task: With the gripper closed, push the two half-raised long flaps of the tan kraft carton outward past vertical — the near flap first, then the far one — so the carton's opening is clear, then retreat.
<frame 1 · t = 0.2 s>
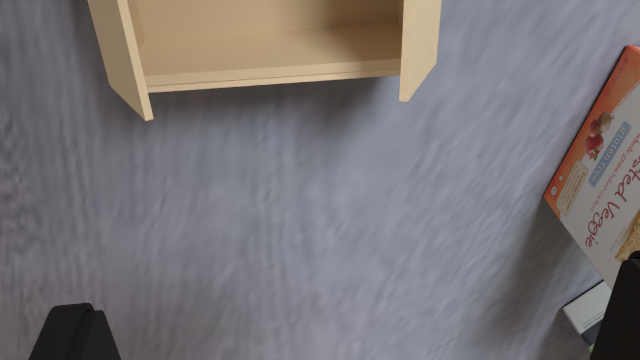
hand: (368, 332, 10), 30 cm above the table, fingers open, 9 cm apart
cracker box: (606, 130, 44), on the table
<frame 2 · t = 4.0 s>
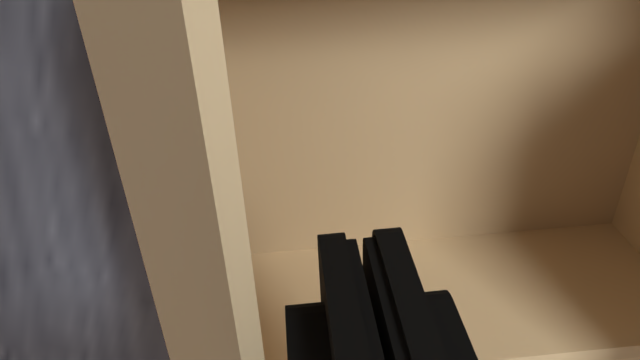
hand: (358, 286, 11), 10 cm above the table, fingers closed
carton: (428, 80, 20), on the table
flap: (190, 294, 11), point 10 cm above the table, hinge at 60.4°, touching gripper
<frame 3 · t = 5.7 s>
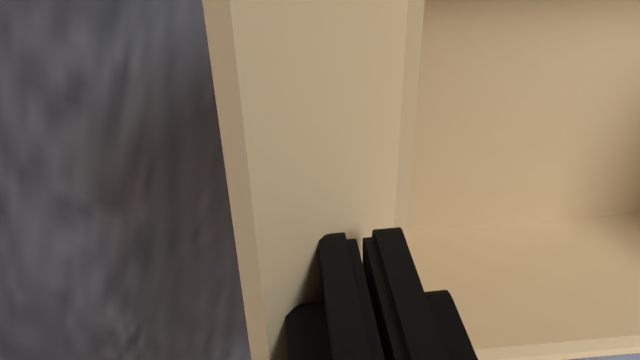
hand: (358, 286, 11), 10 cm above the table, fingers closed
carton: (590, 60, 20), on the table
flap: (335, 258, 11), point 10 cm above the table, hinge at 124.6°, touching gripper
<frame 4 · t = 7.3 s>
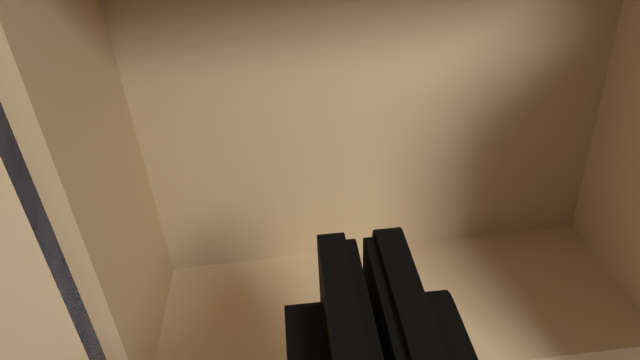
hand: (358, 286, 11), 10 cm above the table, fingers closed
carton: (370, 87, 20), on the table
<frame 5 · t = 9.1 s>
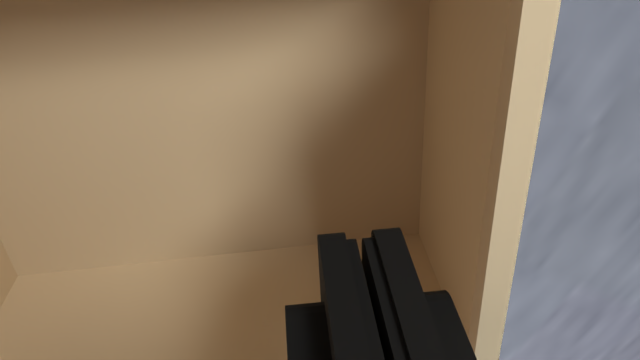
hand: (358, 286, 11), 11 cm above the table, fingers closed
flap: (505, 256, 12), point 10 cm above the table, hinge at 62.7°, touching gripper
carton: (192, 97, 20), on the table
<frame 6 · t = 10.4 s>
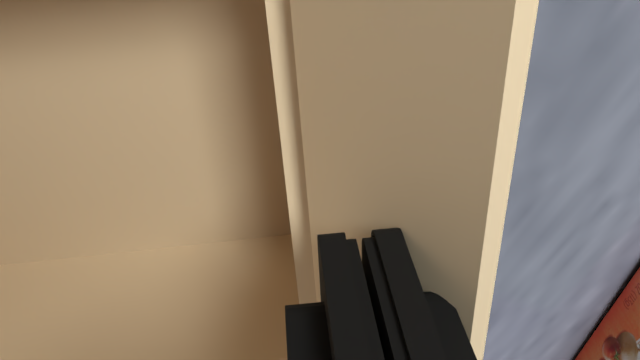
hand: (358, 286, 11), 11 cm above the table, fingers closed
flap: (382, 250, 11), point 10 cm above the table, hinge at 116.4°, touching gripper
carton: (41, 96, 19), on the table
cracker box: (627, 333, 30), on the table
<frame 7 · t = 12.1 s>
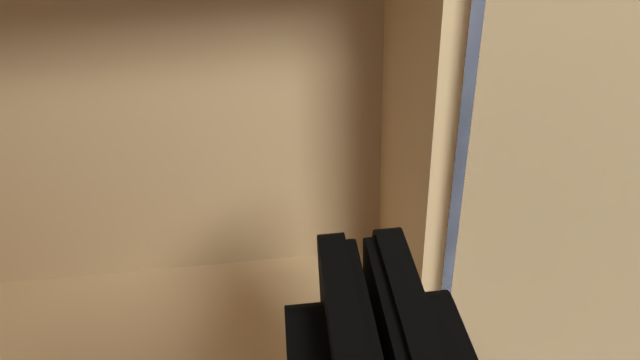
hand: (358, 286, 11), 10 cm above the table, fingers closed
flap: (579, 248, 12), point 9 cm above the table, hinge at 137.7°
carton: (146, 109, 20), on the table
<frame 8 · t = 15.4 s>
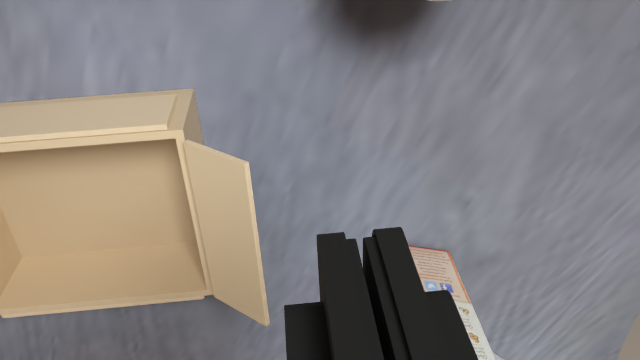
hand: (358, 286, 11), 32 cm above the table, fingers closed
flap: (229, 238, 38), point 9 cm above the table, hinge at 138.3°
carton: (100, 180, 46), on the table
cracker box: (399, 296, 57), on the table
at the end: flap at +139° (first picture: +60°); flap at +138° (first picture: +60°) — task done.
